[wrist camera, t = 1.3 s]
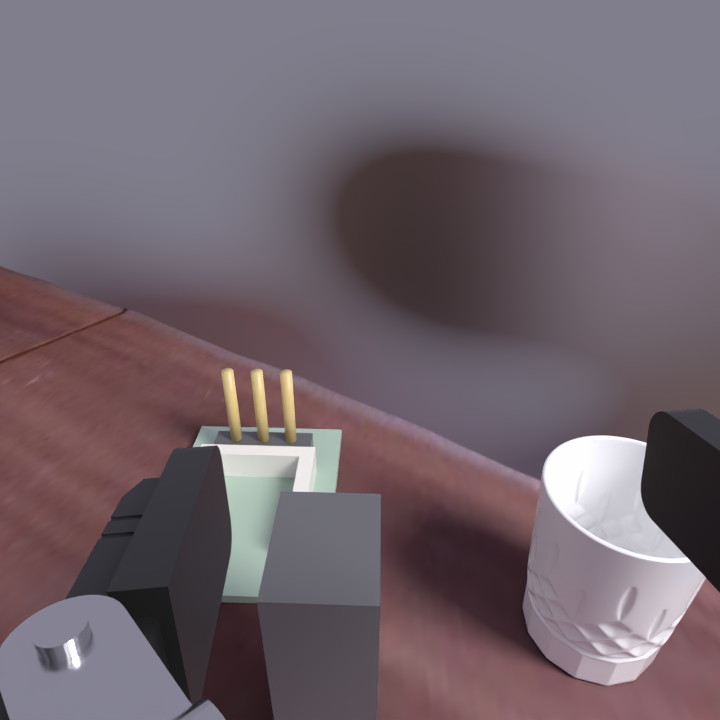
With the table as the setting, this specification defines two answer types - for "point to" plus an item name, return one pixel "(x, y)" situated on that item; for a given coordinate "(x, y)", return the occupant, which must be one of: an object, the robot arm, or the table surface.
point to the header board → (265, 476)
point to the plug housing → (322, 606)
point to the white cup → (602, 565)
